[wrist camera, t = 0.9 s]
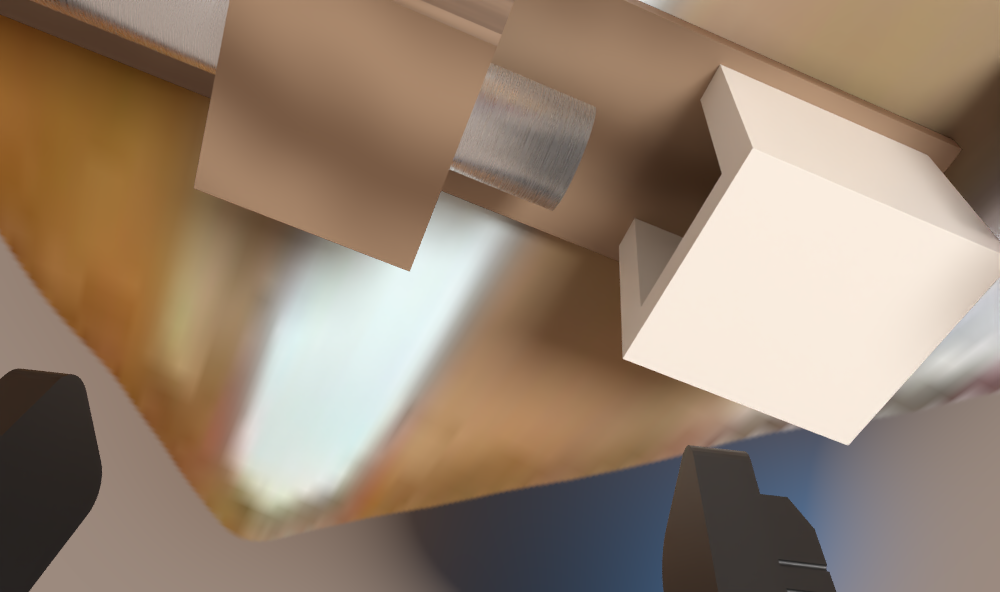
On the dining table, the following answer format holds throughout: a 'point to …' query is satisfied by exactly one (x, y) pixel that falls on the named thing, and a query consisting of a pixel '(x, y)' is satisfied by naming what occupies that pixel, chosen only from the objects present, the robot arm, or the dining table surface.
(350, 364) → the dining table surface
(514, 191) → the slip tube
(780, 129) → the socket
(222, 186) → the rail board
